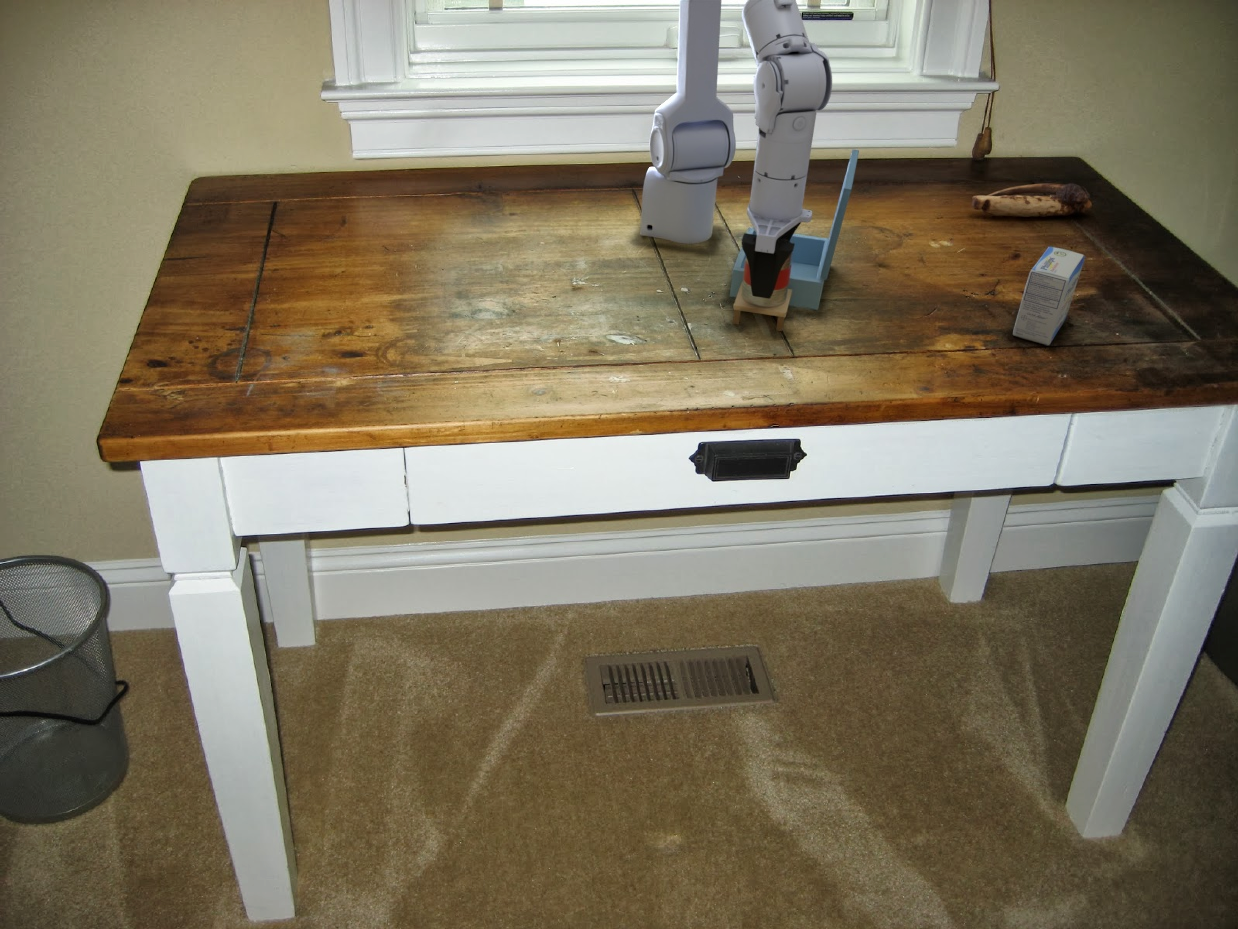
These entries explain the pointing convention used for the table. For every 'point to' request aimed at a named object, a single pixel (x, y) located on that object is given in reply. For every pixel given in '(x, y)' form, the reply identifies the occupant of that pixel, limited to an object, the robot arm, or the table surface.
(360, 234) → the table surface
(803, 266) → the cooler
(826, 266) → the lid
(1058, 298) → the medicine box
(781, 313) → the stool
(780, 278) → the can
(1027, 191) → the lashed bone hook
